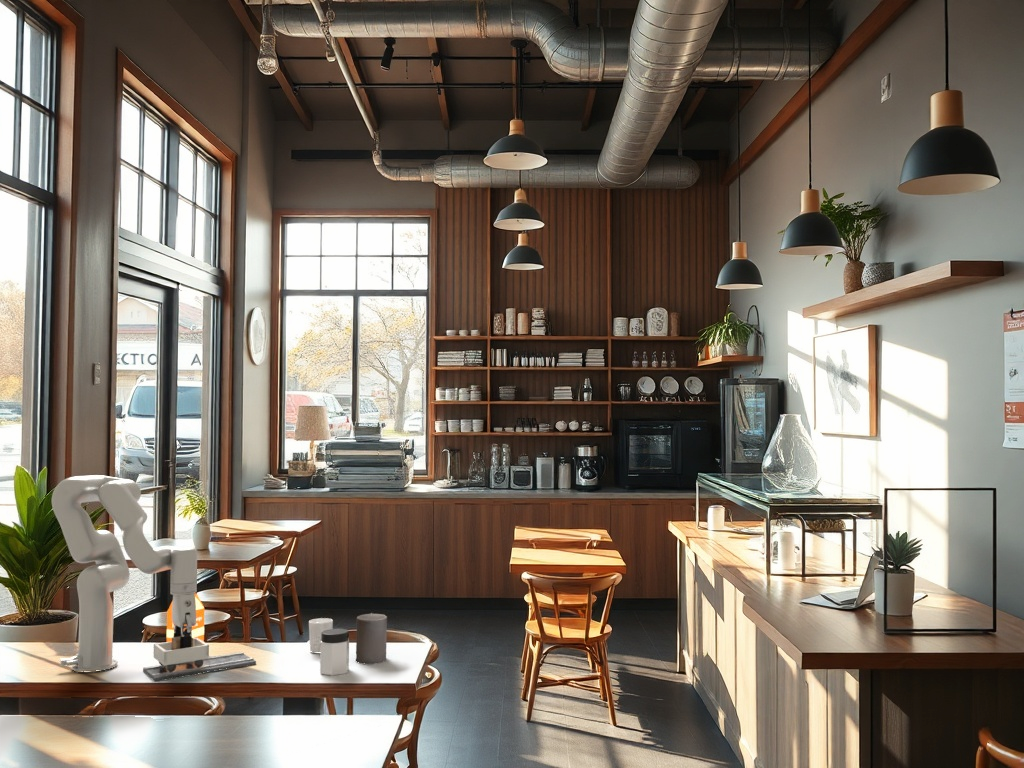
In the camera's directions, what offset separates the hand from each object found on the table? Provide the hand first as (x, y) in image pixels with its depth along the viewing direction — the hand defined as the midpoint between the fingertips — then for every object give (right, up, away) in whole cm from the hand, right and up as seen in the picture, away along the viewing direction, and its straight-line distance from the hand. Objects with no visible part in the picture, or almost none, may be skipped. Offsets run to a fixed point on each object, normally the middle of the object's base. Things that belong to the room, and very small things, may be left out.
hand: (182, 646), depth 254 cm
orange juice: (-7, -9, +19) cm, 22 cm away
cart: (0, -6, -1) cm, 6 cm away
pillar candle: (+56, -8, +10) cm, 58 cm away
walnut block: (0, -2, 0) cm, 2 cm away
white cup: (+37, -9, +22) cm, 44 cm away
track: (+4, -7, +3) cm, 9 cm away
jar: (+47, -7, -3) cm, 48 cm away
